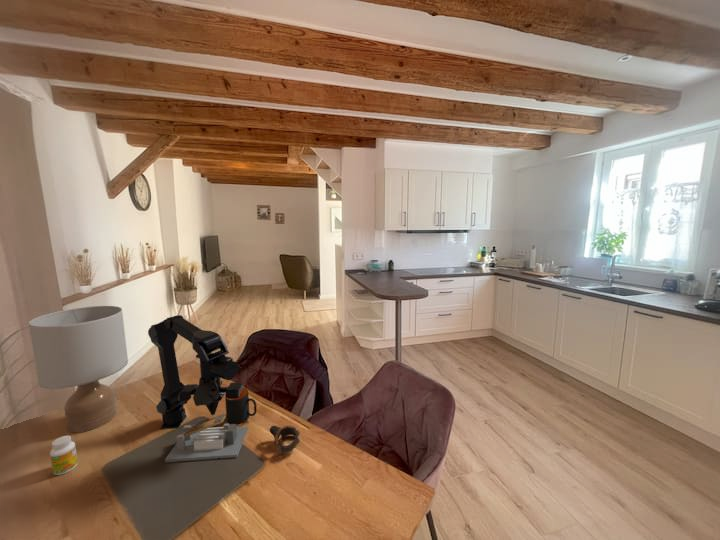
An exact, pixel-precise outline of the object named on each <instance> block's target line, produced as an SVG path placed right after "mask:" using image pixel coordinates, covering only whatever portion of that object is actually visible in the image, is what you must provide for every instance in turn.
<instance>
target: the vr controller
mask: <svg viewBox="0 0 720 540" xmlns="http://www.w3.org/2000/svg"><path fill="white" fill-rule="evenodd" d="M269 432H270V434H271V435H272V436H273V437H274V445H275V448H276V450H275V454H277V456H281V455H285V454H288V453H290V452H293V451H294V449H295V448H297V446H298V444H299V443H300V442H301V440H300V439H299V436H300V435H301V432H300V431H299V430H298V429H296V426H294V425H289V424H287V425H283V426H277V425H271V426H270V428H269ZM280 436H281V439H283V438H285V437H287V436H293V437H294V440H293V441H292V442H291V443H289V444H288V445H282V444H281V445H280V442H279V439H280ZM300 444H301V443H300Z"/></svg>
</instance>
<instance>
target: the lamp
mask: <svg viewBox="0 0 720 540" xmlns="http://www.w3.org/2000/svg"><path fill="white" fill-rule="evenodd" d="M123 316H124V315H123V309H122V307H120V306H114V305H95V306H84V307H75V308H71V309H65V310H64V309H63V310H59V311H55V312H51V313H46V314H44V315H40V316H37V317H35V318H33V319H31V320H30V321H28V328H29V334H30V335H29V336H30V339H31V345H32V352H33V358H34V364H35V370H36V375H37V382H38V385H39V386H40V387H41V388H45V389H51V390H52V389H66V388H67V389H68V388H73V387H76V390H74V391H73V392H72V393H71V395H69V396H68V398H67V399H66V400H65V402H64V407H63V410H64V416H65V422H66V423H65V426H66V428H67V430H68V431H69V432H71V433H83V432H89V431H92V430H95V429H97V428H100V427H102V426H104V425H106V424H108V423H109V422H111V420H113V419H114V418H115V417H116V416H117V403H116V394H115V391H114V389H113V388H112V387H111V386H109V385H106V384H103V383H101V382H100V380H103V379H105V378H109V377H111V376H112V375H114V374H116V373H118V372H120V371H122V369H123V370H124V368H125V367H126V366H127V365H128V363H129V359H128V350H127V341H126V334H125V333H126V332H125V322H124V317H123Z"/></svg>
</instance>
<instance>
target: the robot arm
mask: <svg viewBox="0 0 720 540" xmlns="http://www.w3.org/2000/svg"><path fill="white" fill-rule="evenodd" d="M147 335H148V337H149V338H150V341H151V343H152V344H153V345H155V346H156V347H157V351H158V356H159V362H160V367H161V373H162V378H163V384H164V385H163V387H162V390H161V392H160V401H159V402H158V403H157V404H156V406H155V408H156V410H157V413H159V414H161V416H162V418H161V419H162V424H161V425H160V429H169V428H179V427H180V426H181V425H182V423H183V422H185V420H186V418H187V414H186V409H185V407H184V405H187V404H188V402H189V400H191V398H192V399H193V402H194V405H195V406H196V407H200V406H205V407H206V408H207V410H208V412H209V413H210V415H211V416H214V415H215V414H216V412H217V409H218V406H219V403H220V401H221V400H222V399H223V398H224V397H225V395H226V398H228V399H237V398H239V396H240V394H241V392H242V390H243V388H244V384H243V383H242V382H241V381H239V382H230V383H229V385H228V386H225V385H223V380H225V381H230V380H233V379H234V378H235V377H236V376H237V375H238V372H239V368H240V367H239V364H238V362H236V361H234V359H233V357H231V356H226V355H228V354H230V352H229V350H228V346H227V345H226V343H225V341H224V340H223V338H222V336H221V335H220V334H219V333H217V332H215V331H212V330H204V329H201V328H200V327H198V326H196V325H195V324H193V323H191V322H190V321H188V320H186V319H185V318H184V317H183V315H179V314H177V315H173V316H170V317H167V318H165V319H164V320H163V321H160V322H158V323H155V324H152V325H150V327H149V328H148V331H147ZM178 336H180V337H182V338H183V339H185V340H186V341H188V342H189V343H190V344H192V346H191V348H192V350H193V351H195V353H196V355H195V358H196V359H199V367H200V378H199V379H198V380H199V381H198V383H193V384H192V383H191V384H186V385H185V384H184V383H183V382H182V381H181V378H180V375H179V374H180V373H179V368H178V367H179V366H178V362H177V356H176V350H175V349H176V348H175V344H176V341H177V339H178ZM221 379H223V380H221ZM192 396H193V397H192Z"/></svg>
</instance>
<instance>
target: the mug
mask: <svg viewBox="0 0 720 540" xmlns="http://www.w3.org/2000/svg"><path fill="white" fill-rule="evenodd" d="M224 397H225V398H224V399H225V416H226V417H225V419H226V424H228V423H229V425H230V424H236V426H238V425H241V424H243V423H245V422H247V421H248V419H249V418H250V417H254V416H256V414H257V410H258V409H257V402H256V401H255V399H253V398H249V390H248V389H247V388H245V387H243V390H242V392H241V394H240V396H239V398H237V399H228V398H226V395H224ZM249 402H252V403H253V413H250V403H249Z"/></svg>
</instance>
